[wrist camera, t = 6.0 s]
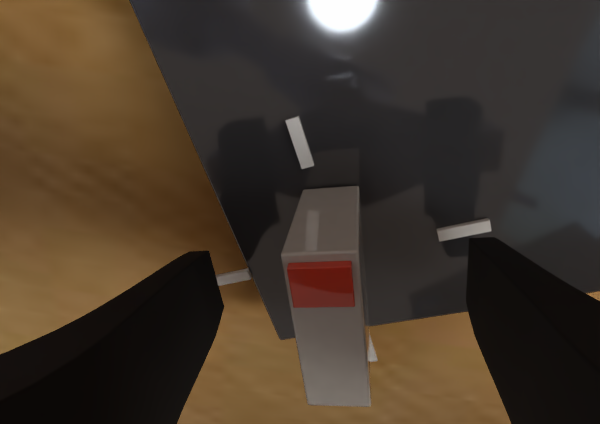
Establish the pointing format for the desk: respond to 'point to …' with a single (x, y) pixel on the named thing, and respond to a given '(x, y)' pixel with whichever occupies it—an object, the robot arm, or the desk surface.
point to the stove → (394, 132)
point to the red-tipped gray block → (329, 296)
